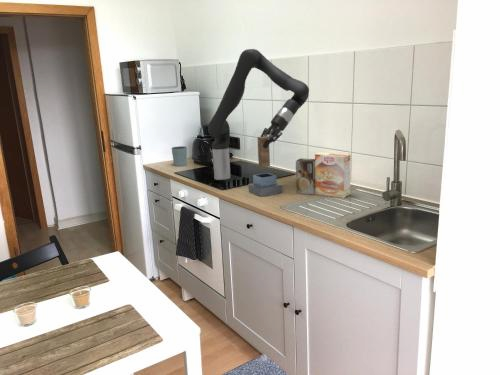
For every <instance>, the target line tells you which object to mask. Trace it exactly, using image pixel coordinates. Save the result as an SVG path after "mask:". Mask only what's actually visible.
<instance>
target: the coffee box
mask: <svg viewBox="0 0 500 375" xmlns="http://www.w3.org/2000/svg"><path fill="white" fill-rule="evenodd" d="M295 177H296V178H295V180H296V183H295V184H296V185H295V186H296V194H301V195H316V194H315V158H299V159H297V160H295Z"/></svg>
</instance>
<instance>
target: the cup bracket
mask: <svg viewBox="0 0 500 375" xmlns="http://www.w3.org/2000/svg"><path fill="white" fill-rule="evenodd" d="M252 177H253V178H252V180H253V182H252V183H248V185H247V186H248V193H251V194H253V195H256V196H257V197H259V198H262V197H269V196H272V195H273V196H274V195H277V194H282V193H283V185H282V184H280V183H277V175H275V174H272V173H269V172H264V173H258V174H253V175H252Z"/></svg>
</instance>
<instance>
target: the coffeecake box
mask: <svg viewBox="0 0 500 375" xmlns="http://www.w3.org/2000/svg"><path fill="white" fill-rule="evenodd" d="M351 156H352V155H351V153H341V152H330V151H320V152H316V153H315V154H314V159H315V194H314V195H320V196H326V197H332V196H333V197H334V198H340V199H346V196H347V197H348V196H350V195H351V161H352V160H351Z"/></svg>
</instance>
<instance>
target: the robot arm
mask: <svg viewBox="0 0 500 375" xmlns="http://www.w3.org/2000/svg"><path fill="white" fill-rule="evenodd" d="M252 69H257V70H259V71H261V72H263V73H264V74H265V75H267V77H268V78H269V79H270V80H271V81H272V82H273V83H274V84H275V85H276V86H278V87H280V88H281V89H282V90H284V91H286V92H288V91H290V92H292V93H293V95H292V96H291V98H290V99H289V98H288V99H287V100H286V101H285V102H284V104H283V105H282V106H281V108H280V109H279V110H278V111H277V113H276V114H275V115H274V116H273V117H272V119H271V121H270V124H271V125H270V126H269V127H268V128H267V127H265V128H264V129H263V131H262V133H261V134H260V137H264V136H265V137H268V139H267V140H266V142H265V143H264V144H263V147H264V148H265V149H266V148H267V147H268V145H269V146H270V144H272V143H275V142H276V141H277V140H278V139H279V138H280V137H281V136H283V131H285V130H286V128H287V126H288V125H289V124H290V122H291V121H292V119H293V118H294V116H295V114H297V113H298V111H299V109H300V108H301V107H302V106H303V105H304V104H305V103H306V102H307V100H308V99H309V96H310V94H309V93H310V88H309V86H308V85H307V84H306V83H305V82H303V81H301V80H299V79H297V78H294V77H292V76H291V75H289V74H288V73H286V72H285V71H283V70H282V69H280V68H278V67H277V66H276V65H275V64H273V63H272V62H271V61H270V60H269V59H267V57H266V56H265V55H264V54H262V53H261V52H260V51H259V50H258V49H255V48H248V49H247V48H246V49H244V50H243V51H241V53H240V55H239V57H238V61H237V64H236V66H235V69H234V72H233V74H232V76H231V78H230V81H229V83H228V84H227V86H226V89H225V91H224V94H223V96H222V98H221V101H220V103H219V105H218V106H217V109H216V111H215V112H214V115H213V116H212V118H211V120H210V121H209V123H208V126H207V132H208V134H209V135H210V137H213V138H215V140H214V141H213V142H212V144H211V150H212V163H213V175H214V176H213V178H214V180H216V181H223V180H229V179H231V165H230V164H231V161H230V148H229V145H230V143H231V141H230V140H231V138H230V137H231V134H230V132H231V131H230V124H229V122H228V121H227V119H228V117H229V116H230V114H231V113H233V112H234V110H235V109H236V108H237V107H238V106H239V105H240V102H241V100H242V98H243V97H244V94H245V90H246V80H247V78H248V76H249V74H250V72H251V70H252Z"/></svg>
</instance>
